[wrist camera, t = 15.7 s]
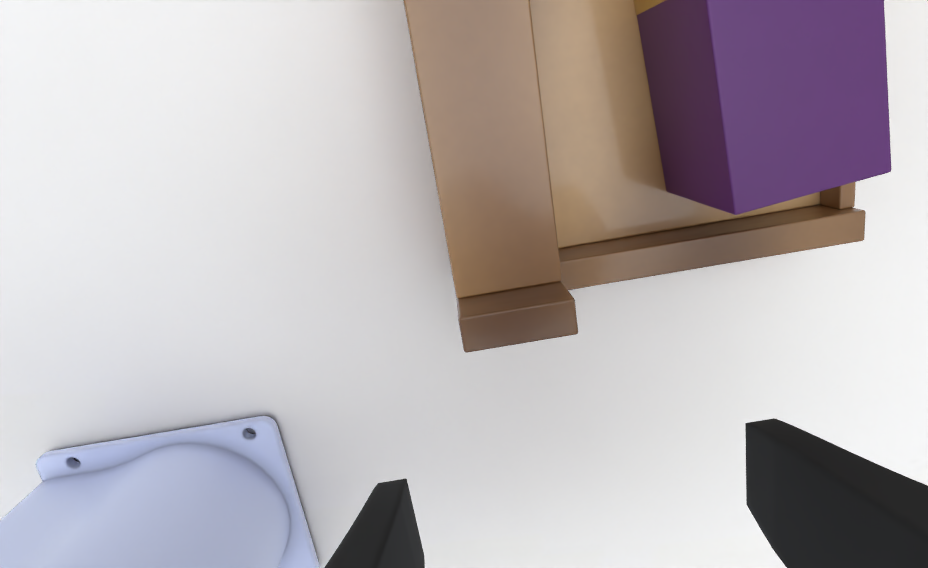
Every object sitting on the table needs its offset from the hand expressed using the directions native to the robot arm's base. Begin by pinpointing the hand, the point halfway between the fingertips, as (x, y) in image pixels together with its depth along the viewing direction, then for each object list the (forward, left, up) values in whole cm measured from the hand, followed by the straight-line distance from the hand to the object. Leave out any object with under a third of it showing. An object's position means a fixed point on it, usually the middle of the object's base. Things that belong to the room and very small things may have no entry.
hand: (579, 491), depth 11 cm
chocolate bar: (+7, +9, -8) cm, 14 cm away
